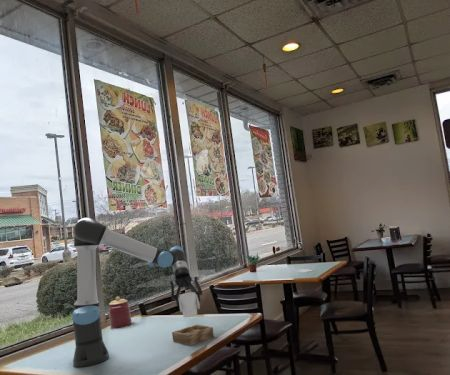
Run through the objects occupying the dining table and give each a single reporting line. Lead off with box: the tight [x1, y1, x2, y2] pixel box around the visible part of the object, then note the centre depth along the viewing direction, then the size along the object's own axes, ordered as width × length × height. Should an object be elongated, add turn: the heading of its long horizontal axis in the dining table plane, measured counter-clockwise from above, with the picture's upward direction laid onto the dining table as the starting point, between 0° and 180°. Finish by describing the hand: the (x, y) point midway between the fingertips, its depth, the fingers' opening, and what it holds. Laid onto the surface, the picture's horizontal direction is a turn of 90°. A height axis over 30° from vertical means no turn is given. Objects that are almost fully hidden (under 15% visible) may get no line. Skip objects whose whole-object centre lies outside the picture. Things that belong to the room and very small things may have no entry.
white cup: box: [179, 291, 198, 318], centre depth 194 cm, size 8×8×10 cm
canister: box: [107, 296, 132, 329], centre depth 251 cm, size 13×13×18 cm
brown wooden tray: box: [171, 324, 215, 346], centre depth 192 cm, size 14×14×4 cm
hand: (190, 308), depth 190 cm, fingers closed on white cup, 8 cm apart
